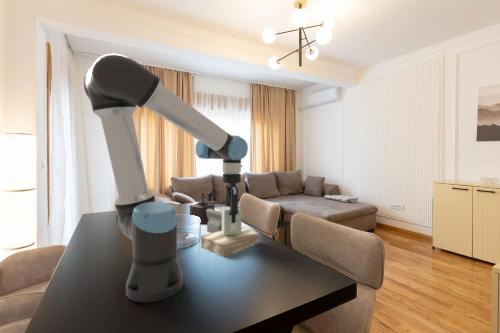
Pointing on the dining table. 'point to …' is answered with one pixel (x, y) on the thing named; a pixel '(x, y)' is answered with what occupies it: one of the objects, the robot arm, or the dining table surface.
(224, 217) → the sage block
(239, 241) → the birch box
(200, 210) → the dark brown irregular piece
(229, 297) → the dining table surface
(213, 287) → the dining table surface
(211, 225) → the digital clock
